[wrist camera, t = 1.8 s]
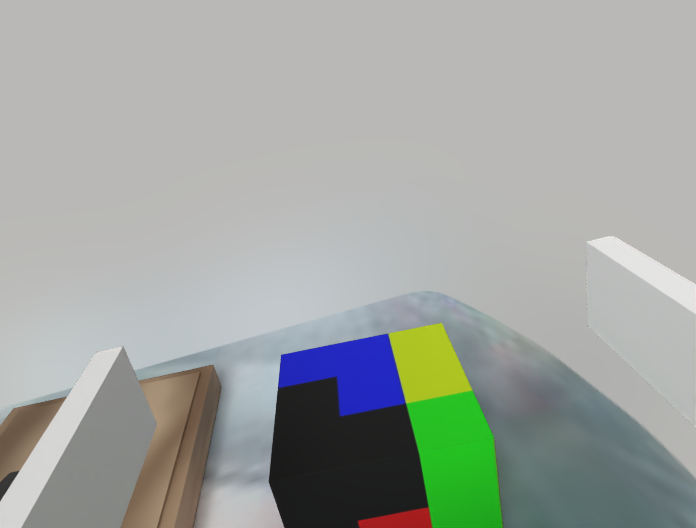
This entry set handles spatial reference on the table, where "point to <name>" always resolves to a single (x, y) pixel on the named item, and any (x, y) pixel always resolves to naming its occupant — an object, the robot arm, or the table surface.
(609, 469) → the table surface
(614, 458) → the table surface
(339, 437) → the puzzle toy
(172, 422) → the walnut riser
